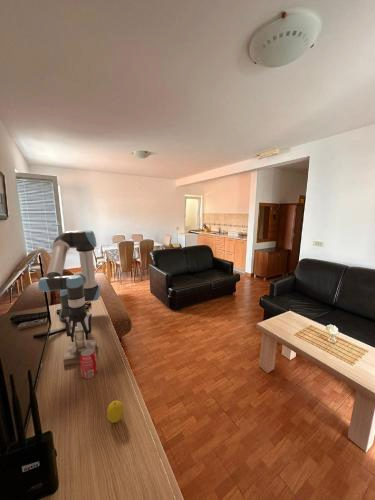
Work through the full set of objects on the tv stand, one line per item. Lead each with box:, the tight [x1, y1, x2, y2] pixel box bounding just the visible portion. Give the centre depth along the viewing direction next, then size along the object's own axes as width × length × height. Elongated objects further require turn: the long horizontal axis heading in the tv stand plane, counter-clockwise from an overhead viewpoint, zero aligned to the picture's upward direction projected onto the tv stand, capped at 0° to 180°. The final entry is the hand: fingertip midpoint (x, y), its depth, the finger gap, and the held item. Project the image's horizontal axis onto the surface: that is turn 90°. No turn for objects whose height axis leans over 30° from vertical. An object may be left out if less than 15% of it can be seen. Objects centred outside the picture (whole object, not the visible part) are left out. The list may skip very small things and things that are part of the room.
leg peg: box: [74, 329, 85, 352], centre depth 112 cm, size 4×4×14 cm
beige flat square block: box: [62, 338, 98, 367], centre depth 113 cm, size 14×14×4 cm
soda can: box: [79, 348, 98, 379], centre depth 98 cm, size 7×7×12 cm
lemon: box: [106, 399, 124, 424], centre depth 76 cm, size 6×6×8 cm
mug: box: [70, 311, 89, 333], centre depth 134 cm, size 10×7×12 cm, turn 120°
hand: (80, 345), depth 113 cm, fingers open, 4 cm apart
